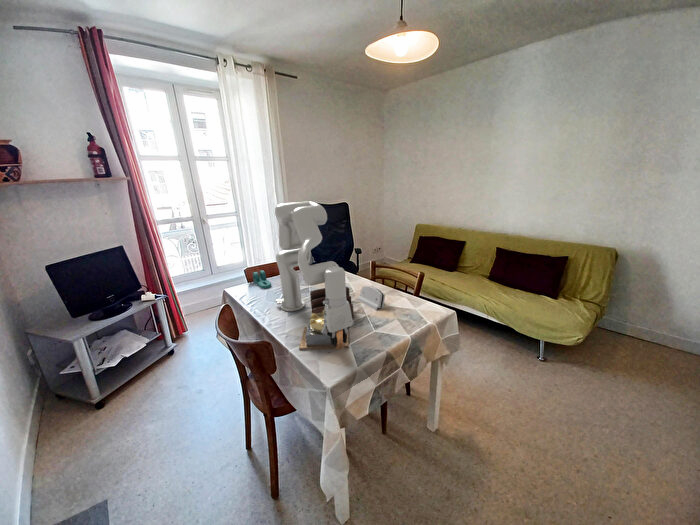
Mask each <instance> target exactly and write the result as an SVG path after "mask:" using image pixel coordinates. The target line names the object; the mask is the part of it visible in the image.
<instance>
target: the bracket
mask: <svg viewBox="0 0 700 525" xmlns="http://www.w3.org/2000/svg"><path fill="white" fill-rule="evenodd" d="M252 280H253V283H254V284H255V285H256V286H258V287H259V288H260V289H262V290H266V289H270V288H271V287H272V282H270V281H269V280H268V279H267V275H266V272H265V271H264V270H262V269H261V270H259V271H254V272H252Z"/></svg>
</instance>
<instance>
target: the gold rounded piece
mask: <svg viewBox="0 0 700 525" xmlns="http://www.w3.org/2000/svg"><path fill="white" fill-rule="evenodd" d="M309 321H310V328H311V329H312V330H313V331H315V332H319V333H322V332H321V331H322V328H323V326H324V310H323V312H321V313H317V314H315V313H312V312H311V314H310V317H309ZM327 331H328V330H327ZM335 337H336V341H337V346H336V347H335V348H334V349H335V350H342V349H344V348H343V347H344V340H343V329H342V330H339V331H336V332H335Z"/></svg>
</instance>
